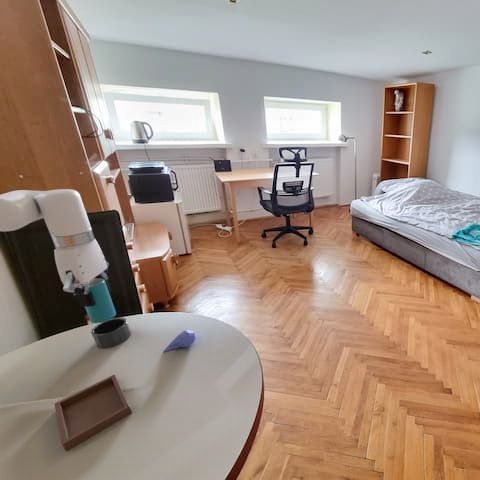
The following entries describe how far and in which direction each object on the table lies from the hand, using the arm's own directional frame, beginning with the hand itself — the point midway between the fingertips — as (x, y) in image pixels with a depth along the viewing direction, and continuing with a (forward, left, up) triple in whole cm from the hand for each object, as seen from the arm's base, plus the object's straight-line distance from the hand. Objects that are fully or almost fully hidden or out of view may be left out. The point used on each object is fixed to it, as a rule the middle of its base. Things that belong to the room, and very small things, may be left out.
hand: (96, 298), depth 79 cm
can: (0, 0, -6) cm, 6 cm away
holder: (0, 0, -15) cm, 14 cm away
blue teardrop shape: (+21, -6, -15) cm, 27 cm away
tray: (+10, -25, -14) cm, 31 cm away
